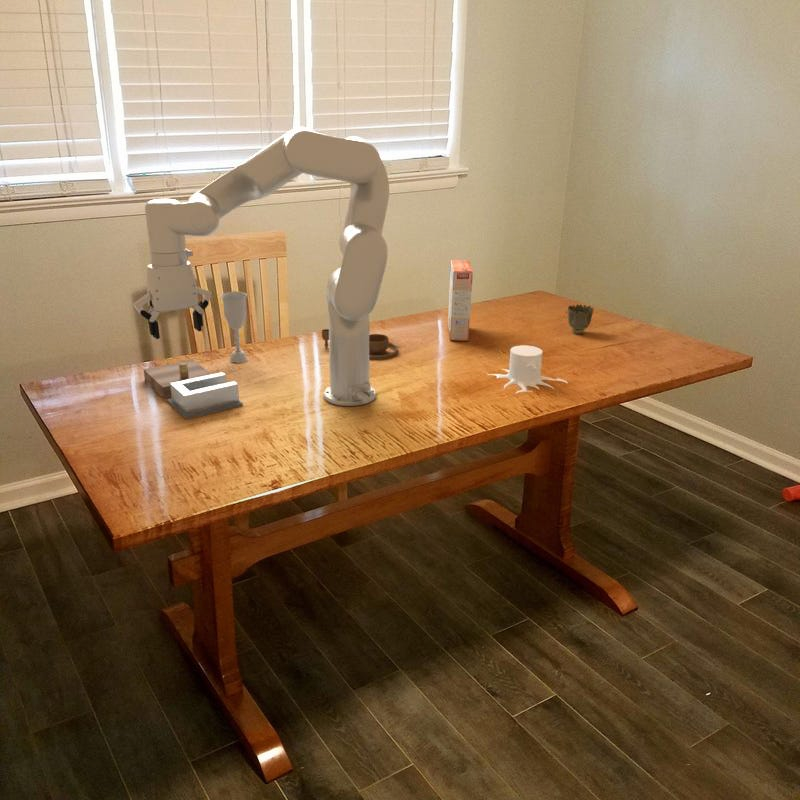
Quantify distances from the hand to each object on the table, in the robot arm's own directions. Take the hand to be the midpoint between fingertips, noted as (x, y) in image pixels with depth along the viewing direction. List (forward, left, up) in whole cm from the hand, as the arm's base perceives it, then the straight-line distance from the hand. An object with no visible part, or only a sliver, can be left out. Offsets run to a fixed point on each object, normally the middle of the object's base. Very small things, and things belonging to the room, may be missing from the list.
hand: (177, 333), depth 179 cm
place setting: (+12, -57, -19) cm, 61 cm away
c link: (0, -4, -18) cm, 18 cm away
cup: (-11, -119, -19) cm, 121 cm away
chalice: (+23, -24, -19) cm, 38 cm away
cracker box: (+8, -88, -19) cm, 90 cm away
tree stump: (-30, -80, -19) cm, 87 cm away
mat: (0, -5, -18) cm, 19 cm away
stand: (+15, -4, -18) cm, 24 cm away
